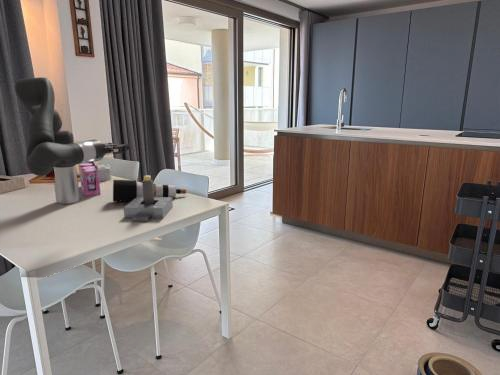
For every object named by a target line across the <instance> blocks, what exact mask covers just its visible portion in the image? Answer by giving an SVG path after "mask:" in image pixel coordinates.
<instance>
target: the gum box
mask: <svg viewBox="0 0 500 375" xmlns="http://www.w3.org/2000/svg"><path fill="white" fill-rule="evenodd" d="M77 165H78V171H79V172H78V173H79V181H80V187H81V190H82V193H83V196H84V197H90V196H97V195H101V186H100V181H99V175H98V168H97V166H96V165H97V164H95V162H90V163H85V164H77Z"/></svg>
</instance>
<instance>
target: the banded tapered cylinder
mask: <svg viewBox="0 0 500 375" xmlns="http://www.w3.org/2000/svg"><path fill="white" fill-rule="evenodd" d="M112 180H113V182H112V183H113V184H112V187H113V188H112V189H113V190H112V202H131V201H133V200H134V199H135V198H136V197H143V187H142V182H141V183H139V182H137V180H134V179H129V180H127V179H112ZM176 187H177V186H176V185H171V184H169V185H168V184H158V183H157V184H156V183H153V190H154V197H172V199H174V198H176V196H177V195H180V194H181V195H182V194H183V195H184V194H185V195H186V194H187V189H186V188H185V189H179V188H176Z"/></svg>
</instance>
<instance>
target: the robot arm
mask: <svg viewBox="0 0 500 375" xmlns="http://www.w3.org/2000/svg"><path fill="white" fill-rule="evenodd" d="M14 91H15V95H16V97H17V99H18V101H19V102H20V103H21V105H22V106H23V107H24V108H25V109H26V111H27V112H28V113H29V114H30V116H31V118H30V119H29V121H28V123H27V124H28V125H27V137H28V143H27V145H28V146H27V149H26V154H25V164H26V167H27V169H28V170H29V172H30V173H32V174H33V175H35V176H38V177H43V176H46V175H48V174H49V173H51V172H52V170H53V171H54V179H55V182H53V186H54V194H55V202H56V203H57V204H61V205H69V204H75V203H79V202H80V201H81V198H80V197H81V195H80V188H79V180H78V172H77V170H78V169H77V165H78V164H85V163H90V162H94V163H95V162H98V161H101V160H103V159H104V157H105V156H107V155H112V154H113V155H117V154H123V153H125V154H126V153H127V151H129V150H130V149H131V144H130V143H125V144H116V143H112V142H105V143H103V142H101V141H100V140H98V139H89V140H82V141H77V142H75V141H74V134H73V133H72V131H71V130H61V128H62V127H63V121H62V118H61V116H60V114H59V112H58V110H57V109H56V108H55V100H56V99H55V91H54V87H53V85H52V82H51V81H50V79H49V78H48V77H42V76H41V77H30V78H21V79H18V80H16V82H15V83H14Z"/></svg>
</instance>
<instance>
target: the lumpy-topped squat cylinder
mask: <svg viewBox="0 0 500 375" xmlns="http://www.w3.org/2000/svg"><path fill="white" fill-rule="evenodd" d="M95 165H96V166H97V168H98V175H99V182H106V181H107V180H108V181H111V180H112V173H111V172H112V171H111V166H110V165H109V164H103V163H102V164H100V165H99V164H95ZM108 181H107V182H108Z"/></svg>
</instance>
